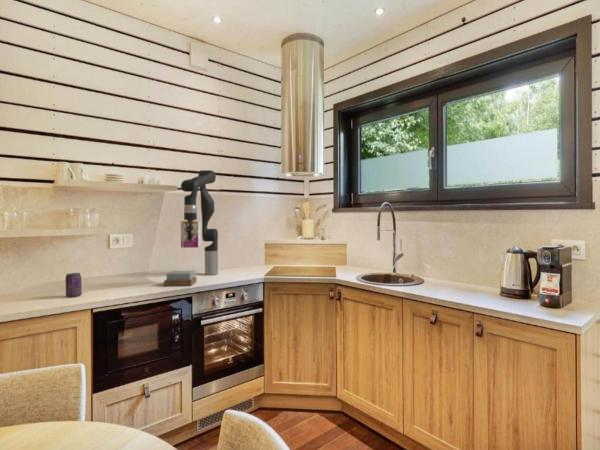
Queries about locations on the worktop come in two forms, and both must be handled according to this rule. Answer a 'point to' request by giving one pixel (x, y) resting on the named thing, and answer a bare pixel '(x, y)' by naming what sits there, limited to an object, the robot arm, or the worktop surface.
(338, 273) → the worktop surface
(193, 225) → the candy bar box
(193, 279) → the tower base
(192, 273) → the tower top
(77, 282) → the beverage can
